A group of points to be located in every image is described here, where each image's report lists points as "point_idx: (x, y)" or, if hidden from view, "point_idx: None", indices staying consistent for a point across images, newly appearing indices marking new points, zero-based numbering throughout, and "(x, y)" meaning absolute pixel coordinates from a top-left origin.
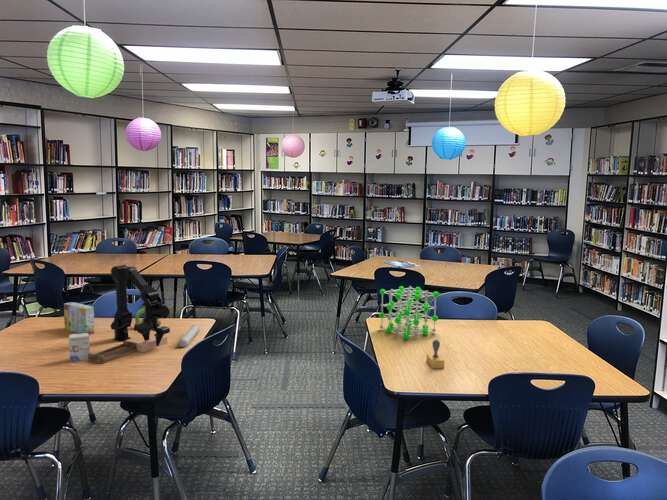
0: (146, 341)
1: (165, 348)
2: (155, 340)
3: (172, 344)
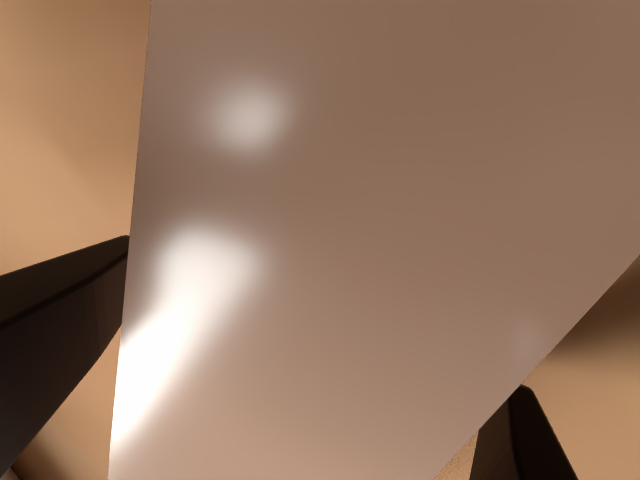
0: (387, 344)
1: (12, 216)
2: (130, 421)
3: (82, 409)
